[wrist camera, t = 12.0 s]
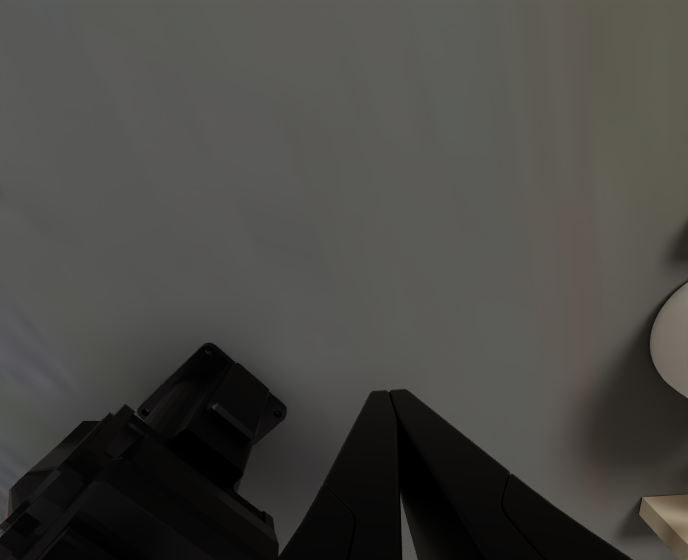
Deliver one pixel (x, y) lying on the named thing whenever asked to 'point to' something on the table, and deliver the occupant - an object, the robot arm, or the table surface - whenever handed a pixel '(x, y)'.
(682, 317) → the cup
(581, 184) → the table surface
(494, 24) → the table surface
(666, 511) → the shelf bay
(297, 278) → the table surface
